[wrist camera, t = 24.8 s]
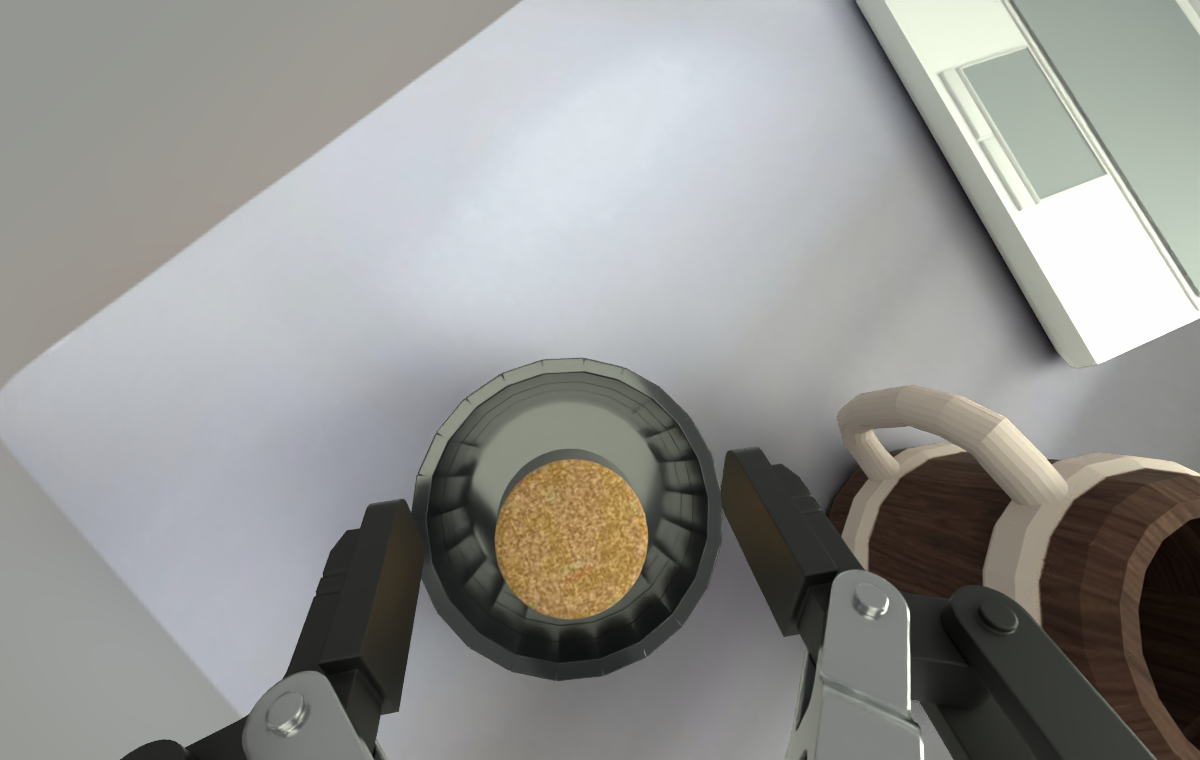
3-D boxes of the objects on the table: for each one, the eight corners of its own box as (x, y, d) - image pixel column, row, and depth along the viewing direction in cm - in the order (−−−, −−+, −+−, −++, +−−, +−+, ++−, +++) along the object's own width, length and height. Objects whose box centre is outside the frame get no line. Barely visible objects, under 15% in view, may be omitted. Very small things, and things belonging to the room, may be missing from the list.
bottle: (609, 451, 30) (655, 432, 15) (618, 548, 29) (677, 628, 14) (516, 460, 29) (470, 449, 15) (522, 558, 28) (478, 654, 13)
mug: (1077, 579, 31) (1538, 676, 16) (926, 746, 28) (1316, 1041, 14) (874, 346, 33) (1121, 247, 18) (715, 481, 30) (857, 491, 16)
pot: (513, 690, 27) (499, 751, 21) (399, 449, 29) (358, 443, 23) (736, 552, 30) (779, 572, 24) (617, 339, 32) (629, 309, 26)
